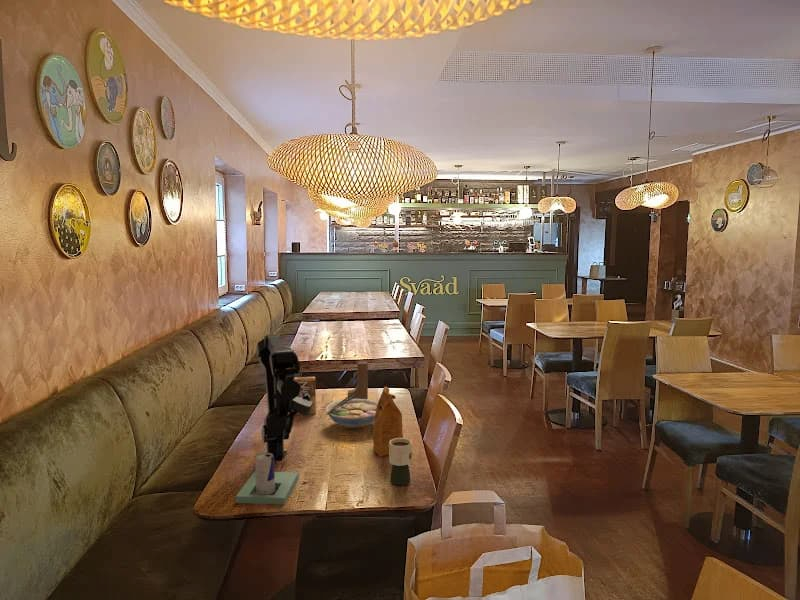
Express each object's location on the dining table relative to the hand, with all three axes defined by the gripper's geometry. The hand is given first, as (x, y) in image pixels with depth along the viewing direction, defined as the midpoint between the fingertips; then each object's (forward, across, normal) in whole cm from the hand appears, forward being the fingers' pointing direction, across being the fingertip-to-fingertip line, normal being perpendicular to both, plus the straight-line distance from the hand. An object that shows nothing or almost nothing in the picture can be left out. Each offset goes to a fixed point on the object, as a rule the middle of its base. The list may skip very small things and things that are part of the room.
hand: (284, 438), depth 167 cm
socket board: (+13, -8, +3) cm, 16 cm away
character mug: (+13, 0, -36) cm, 38 cm away
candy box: (+13, +60, +8) cm, 62 cm away
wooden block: (+13, +77, -12) cm, 79 cm away
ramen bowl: (+13, +47, -15) cm, 51 cm away
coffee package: (+13, +24, -30) cm, 41 cm away
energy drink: (+13, -11, +3) cm, 17 cm away
